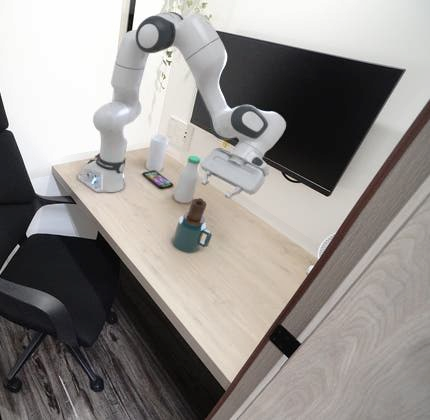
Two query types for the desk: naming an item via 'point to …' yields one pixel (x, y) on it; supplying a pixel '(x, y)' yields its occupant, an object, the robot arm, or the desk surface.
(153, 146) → the cup
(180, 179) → the milk bottle
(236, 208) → the desk surface
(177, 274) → the desk surface
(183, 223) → the teal mug
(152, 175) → the smartphone
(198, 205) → the lid
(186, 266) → the desk surface
